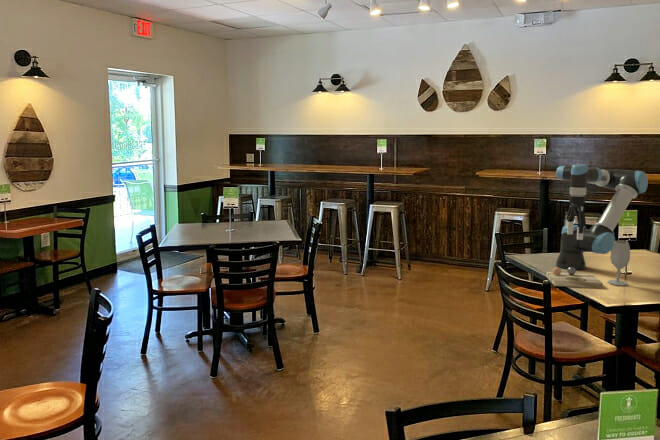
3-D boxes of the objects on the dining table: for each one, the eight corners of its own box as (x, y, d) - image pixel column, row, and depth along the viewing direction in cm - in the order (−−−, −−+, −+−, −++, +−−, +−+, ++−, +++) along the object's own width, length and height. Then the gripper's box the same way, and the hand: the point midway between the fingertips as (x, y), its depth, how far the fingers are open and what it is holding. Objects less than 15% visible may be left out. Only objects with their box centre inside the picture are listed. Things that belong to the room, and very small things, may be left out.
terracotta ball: (551, 273, 293) (552, 266, 292) (559, 274, 292) (560, 266, 291) (553, 275, 289) (553, 267, 288) (561, 276, 288) (562, 268, 287)
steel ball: (565, 273, 293) (566, 265, 293) (574, 273, 293) (574, 266, 292) (567, 275, 290) (568, 267, 289) (576, 275, 289) (577, 268, 288)
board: (546, 276, 297) (546, 271, 297) (591, 278, 294) (591, 273, 294) (554, 285, 280) (554, 280, 279) (602, 288, 276) (602, 283, 276)
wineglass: (631, 286, 281) (635, 243, 278) (615, 286, 280) (619, 244, 276) (619, 281, 290) (623, 240, 286) (603, 281, 288) (607, 240, 285)
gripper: (561, 192, 303) (558, 232, 307) (579, 198, 278) (576, 241, 282) (576, 192, 303) (573, 232, 306) (595, 198, 278) (591, 242, 282)
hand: (574, 236), depth 294 cm, fingers open, 13 cm apart
